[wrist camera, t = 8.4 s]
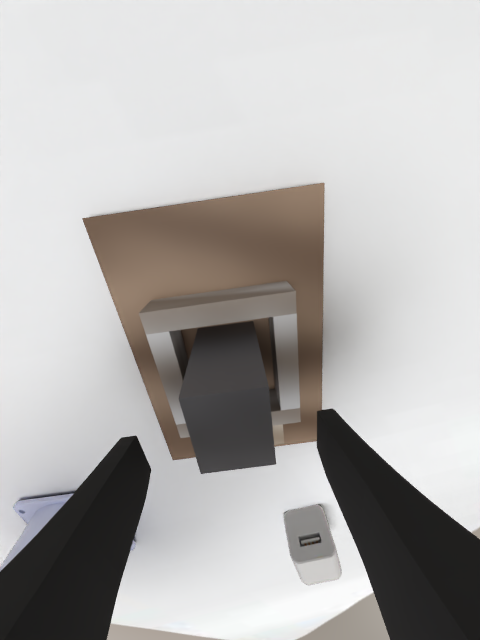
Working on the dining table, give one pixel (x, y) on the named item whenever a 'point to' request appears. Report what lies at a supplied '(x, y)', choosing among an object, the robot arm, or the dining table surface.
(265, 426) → the plug
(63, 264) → the dining table surface
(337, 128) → the dining table surface
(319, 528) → the usb wall charger
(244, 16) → the dining table surface
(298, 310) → the socket dock
